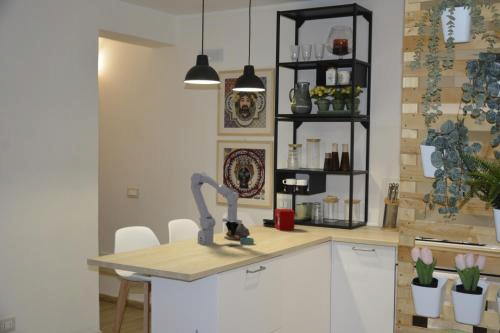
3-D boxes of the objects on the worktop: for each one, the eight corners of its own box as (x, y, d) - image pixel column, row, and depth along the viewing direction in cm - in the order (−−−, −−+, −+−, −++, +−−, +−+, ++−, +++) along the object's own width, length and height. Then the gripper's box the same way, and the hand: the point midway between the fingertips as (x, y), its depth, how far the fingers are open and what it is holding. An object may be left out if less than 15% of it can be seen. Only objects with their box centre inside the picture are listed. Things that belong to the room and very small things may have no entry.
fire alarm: (274, 228, 459) (274, 208, 458) (288, 227, 461) (288, 208, 460) (279, 230, 443) (279, 210, 442) (294, 230, 445) (294, 210, 444)
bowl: (247, 245, 369) (247, 239, 369) (237, 244, 375) (237, 238, 374) (256, 244, 375) (256, 238, 375) (246, 242, 380) (246, 237, 380)
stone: (255, 221, 396) (241, 223, 384) (256, 237, 396) (243, 240, 383) (233, 223, 407) (219, 225, 394) (234, 239, 406) (220, 241, 394)
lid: (231, 239, 362) (232, 231, 362) (221, 238, 368) (221, 229, 368) (242, 238, 369) (242, 230, 369) (231, 236, 375) (231, 228, 375)
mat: (232, 247, 362) (232, 246, 362) (220, 245, 368) (220, 244, 368) (243, 245, 369) (243, 245, 369) (231, 243, 376) (231, 243, 376)
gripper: (219, 211, 370) (218, 233, 371) (236, 213, 360) (235, 236, 361) (227, 210, 375) (226, 232, 376) (244, 212, 366) (244, 235, 366)
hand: (231, 234), depth 369 cm, fingers closed on lid
